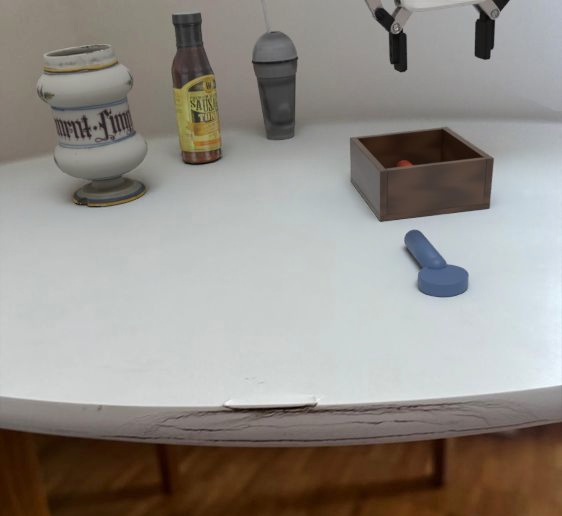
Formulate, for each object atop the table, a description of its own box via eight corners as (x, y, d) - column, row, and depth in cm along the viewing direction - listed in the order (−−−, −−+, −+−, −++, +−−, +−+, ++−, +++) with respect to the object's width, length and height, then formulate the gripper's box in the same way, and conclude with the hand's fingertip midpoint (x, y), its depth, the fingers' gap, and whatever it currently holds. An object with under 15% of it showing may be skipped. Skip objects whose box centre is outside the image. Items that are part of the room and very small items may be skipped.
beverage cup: (294, 142, 110) (285, -1, 99) (252, 141, 112) (238, 2, 101) (308, 130, 115) (300, -6, 105) (267, 130, 118) (256, -3, 107)
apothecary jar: (45, 205, 92) (5, 57, 82) (104, 178, 100) (75, 42, 91) (116, 213, 86) (83, 57, 77) (172, 184, 95) (148, 40, 86)
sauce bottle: (201, 167, 101) (180, 15, 91) (173, 162, 105) (150, 15, 95) (233, 156, 105) (216, 9, 95) (205, 151, 109) (186, 9, 99)
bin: (444, 170, 91) (447, 126, 88) (489, 208, 78) (494, 158, 75) (350, 181, 90) (349, 137, 87) (380, 221, 77) (379, 171, 74)
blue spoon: (390, 248, 71) (390, 229, 69) (432, 243, 71) (432, 224, 70) (425, 299, 60) (426, 278, 59) (475, 293, 61) (476, 272, 59)
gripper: (367, -110, 67) (375, 80, 76) (540, -133, 68) (528, 57, 77) (350, -103, 73) (360, 71, 82) (509, -125, 74) (501, 50, 83)
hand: (441, 64), depth 79 cm, fingers open, 9 cm apart
